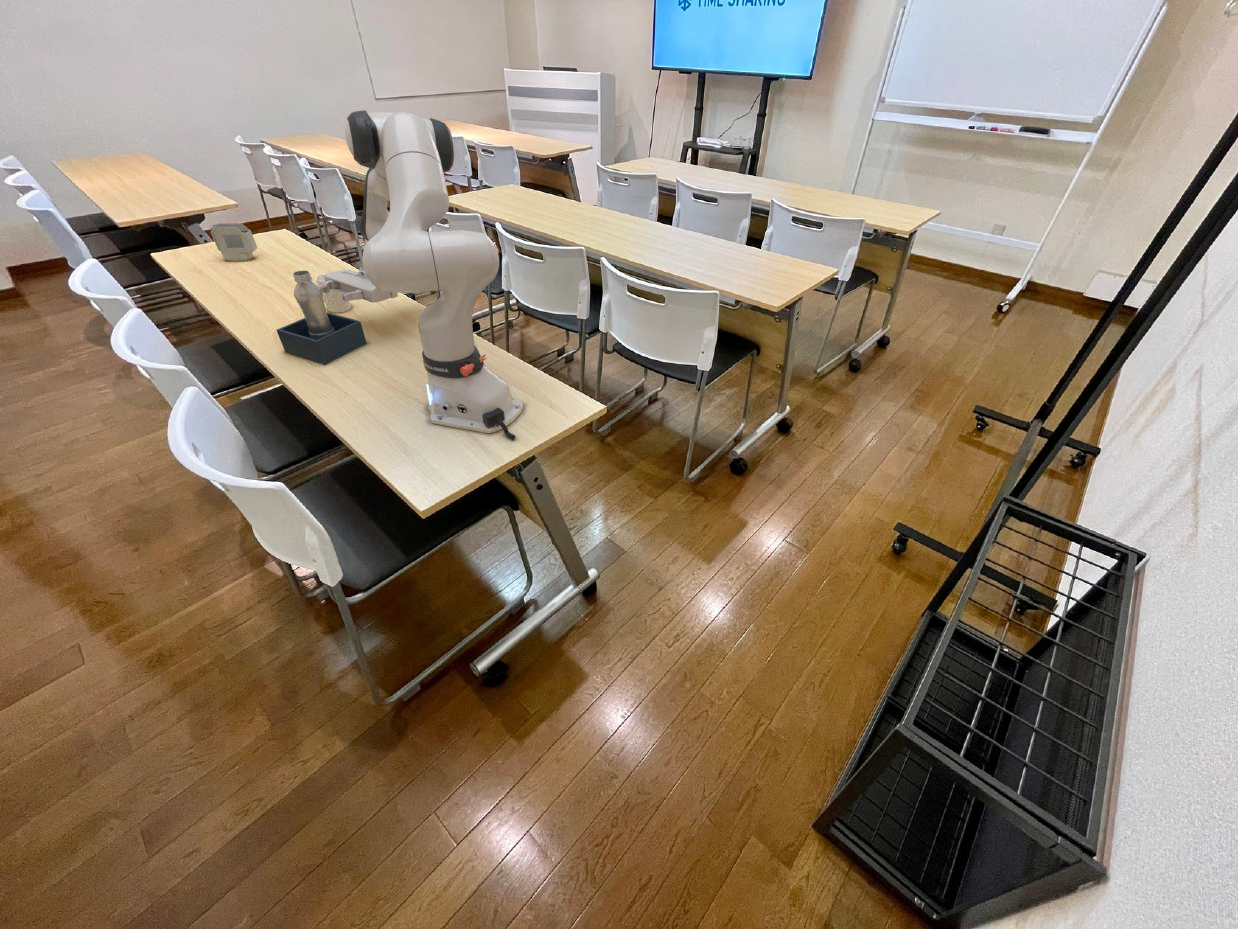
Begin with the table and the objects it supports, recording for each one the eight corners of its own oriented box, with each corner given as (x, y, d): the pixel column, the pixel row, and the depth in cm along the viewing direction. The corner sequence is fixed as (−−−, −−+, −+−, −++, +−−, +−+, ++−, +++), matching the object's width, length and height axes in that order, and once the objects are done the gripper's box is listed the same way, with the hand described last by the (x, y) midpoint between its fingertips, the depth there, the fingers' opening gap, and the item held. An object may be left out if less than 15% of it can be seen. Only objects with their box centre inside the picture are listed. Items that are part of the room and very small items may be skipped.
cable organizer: (256, 261, 194) (243, 227, 186) (219, 262, 192) (204, 227, 184) (262, 255, 199) (249, 222, 192) (226, 256, 197) (211, 222, 189)
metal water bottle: (336, 350, 141) (312, 276, 129) (310, 351, 140) (282, 277, 128) (342, 339, 146) (319, 268, 134) (316, 340, 145) (290, 268, 133)
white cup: (346, 301, 168) (337, 270, 162) (357, 309, 164) (348, 277, 158) (321, 307, 164) (311, 276, 158) (331, 315, 160) (321, 283, 153)
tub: (367, 343, 147) (360, 321, 142) (324, 364, 136) (316, 341, 132) (329, 332, 151) (321, 310, 147) (285, 352, 141) (275, 329, 136)
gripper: (347, 260, 151) (303, 274, 141) (396, 275, 143) (353, 290, 134) (353, 282, 155) (311, 296, 145) (401, 298, 147) (360, 314, 138)
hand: (332, 294), depth 140 cm, fingers open, 8 cm apart
